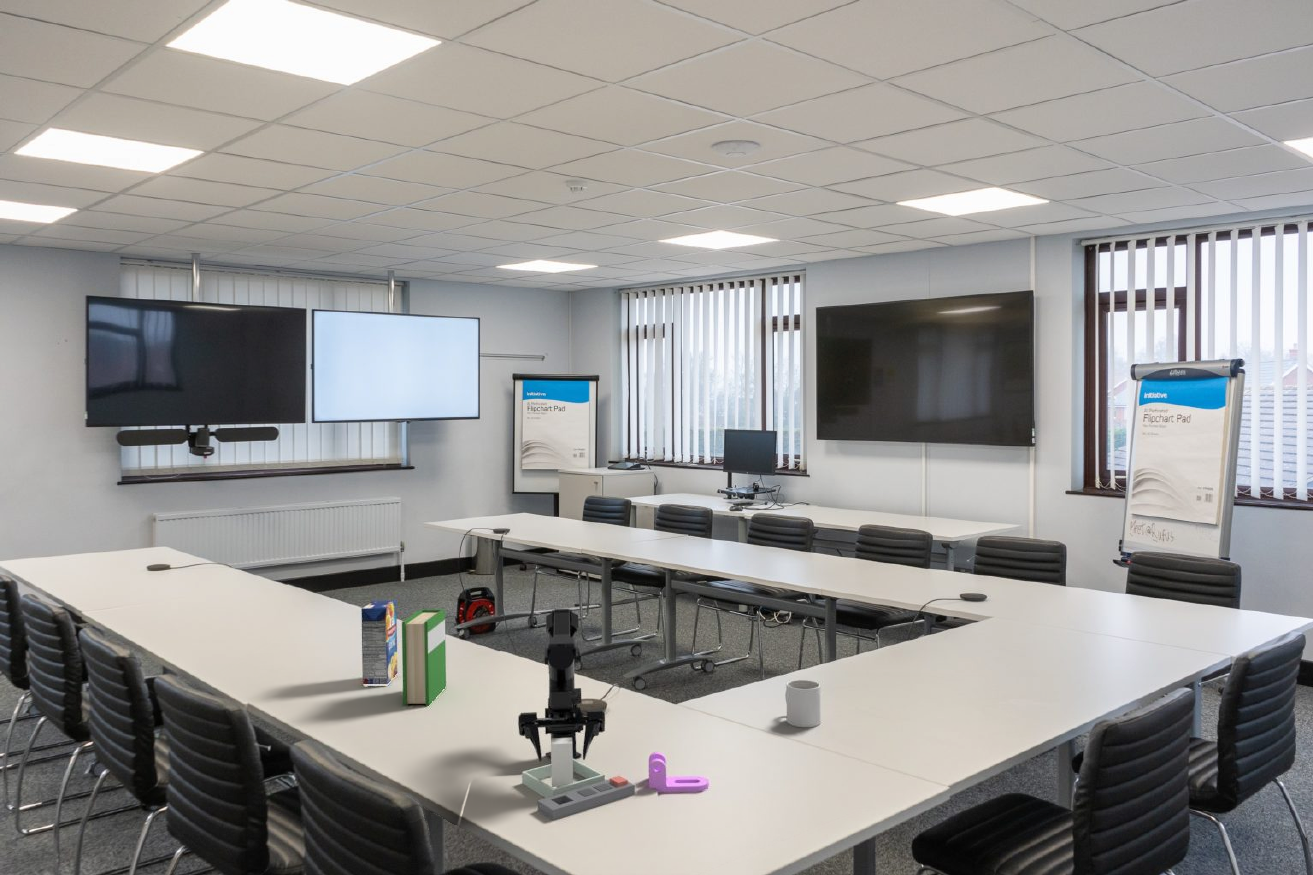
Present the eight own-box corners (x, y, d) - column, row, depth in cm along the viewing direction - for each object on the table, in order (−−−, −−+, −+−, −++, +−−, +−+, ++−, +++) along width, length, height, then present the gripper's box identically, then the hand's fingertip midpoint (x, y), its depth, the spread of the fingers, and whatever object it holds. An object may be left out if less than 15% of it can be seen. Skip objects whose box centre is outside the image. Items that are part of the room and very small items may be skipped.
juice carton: (374, 676, 292) (372, 601, 292) (397, 675, 293) (396, 600, 292) (362, 686, 280) (361, 608, 280) (387, 686, 281) (385, 608, 280)
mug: (820, 728, 237) (819, 689, 237) (783, 726, 239) (782, 688, 239) (821, 715, 248) (820, 678, 248) (785, 713, 250) (785, 676, 250)
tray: (522, 787, 201) (522, 771, 201) (572, 773, 209) (572, 757, 209) (553, 806, 190) (552, 790, 190) (605, 790, 198) (604, 774, 198)
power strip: (553, 825, 182) (552, 805, 182) (537, 815, 187) (537, 796, 187) (634, 798, 194) (634, 781, 194) (618, 790, 199) (618, 772, 199)
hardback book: (428, 706, 260) (427, 622, 260) (403, 706, 260) (401, 622, 260) (446, 688, 278) (444, 609, 277) (422, 688, 278) (420, 609, 278)
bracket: (648, 793, 197) (648, 761, 197) (649, 783, 203) (648, 751, 203) (709, 792, 197) (709, 760, 197) (707, 782, 203) (707, 750, 203)
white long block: (552, 789, 198) (551, 738, 199) (573, 788, 199) (572, 737, 199) (551, 796, 194) (550, 744, 195) (573, 795, 195) (572, 743, 195)
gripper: (518, 676, 199) (515, 744, 188) (604, 672, 201) (606, 740, 190) (520, 701, 207) (518, 768, 196) (603, 698, 209) (605, 764, 198)
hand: (562, 759), depth 195 cm, fingers open, 9 cm apart
